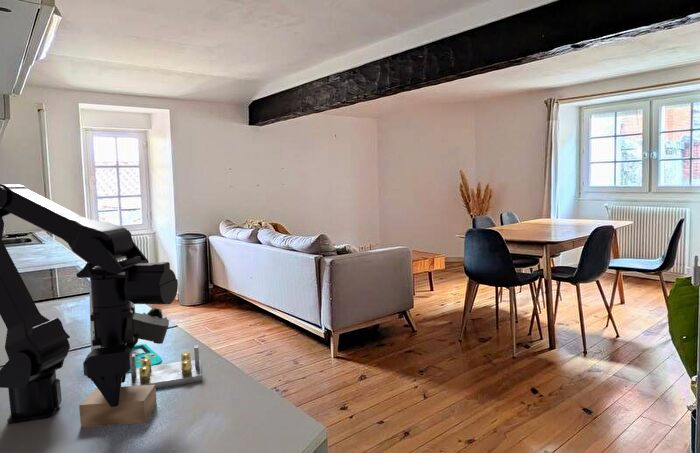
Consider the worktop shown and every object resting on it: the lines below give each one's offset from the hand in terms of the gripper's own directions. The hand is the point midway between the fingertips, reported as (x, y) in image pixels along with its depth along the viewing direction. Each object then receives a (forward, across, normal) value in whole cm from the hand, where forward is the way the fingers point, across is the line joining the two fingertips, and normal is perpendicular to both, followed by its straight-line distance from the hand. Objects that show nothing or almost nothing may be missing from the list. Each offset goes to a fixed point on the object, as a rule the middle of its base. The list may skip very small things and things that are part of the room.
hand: (118, 393), depth 77 cm
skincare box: (+4, +36, +5) cm, 36 cm away
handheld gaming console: (+4, +27, 0) cm, 27 cm away
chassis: (+4, +13, -7) cm, 15 cm away
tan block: (+4, 0, 0) cm, 4 cm away
